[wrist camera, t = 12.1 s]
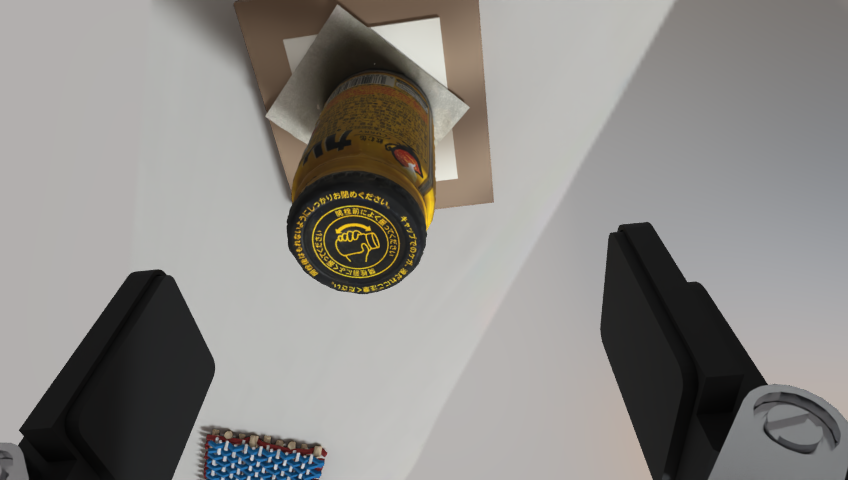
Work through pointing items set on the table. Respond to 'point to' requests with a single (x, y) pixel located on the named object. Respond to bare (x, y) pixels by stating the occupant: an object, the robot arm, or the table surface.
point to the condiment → (362, 157)
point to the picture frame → (404, 31)
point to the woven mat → (259, 459)
